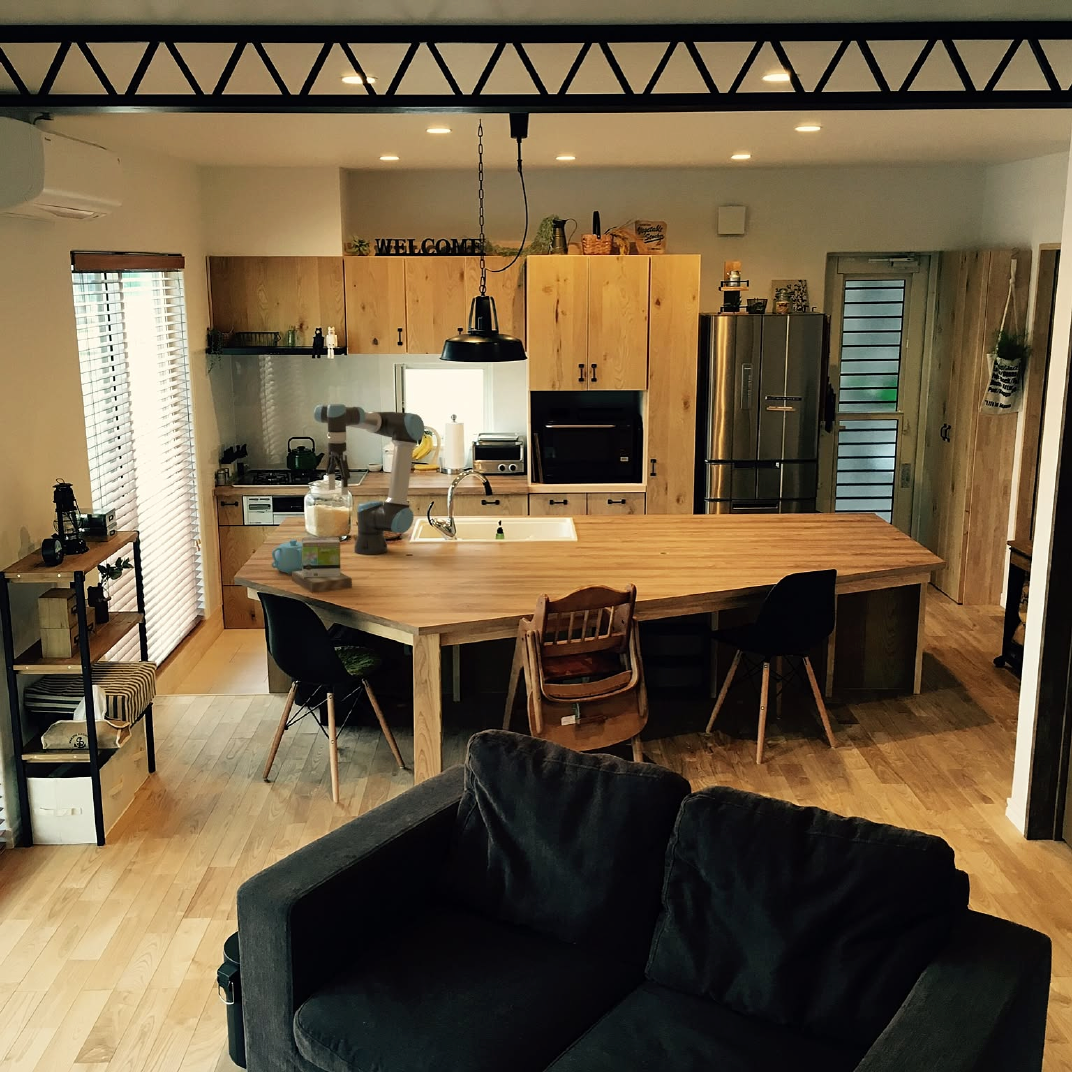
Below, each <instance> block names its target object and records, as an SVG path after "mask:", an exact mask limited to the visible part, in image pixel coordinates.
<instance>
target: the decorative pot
mask: <svg viewBox="0 0 1072 1072" xmlns="http://www.w3.org/2000/svg"><path fill="white" fill-rule="evenodd" d="M271 557H272V560H273V561H272V562H271V564H270V566H271V567H272V568H274V569H277V571H279V572H282V573H286V575H292V572H294V571H302V570H303V569H302V541H297V539H289V540H288V542H284V543H280V544H279V545H278V547H275V548H274V549H272V551H271Z"/></svg>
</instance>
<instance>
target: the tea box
mask: <svg viewBox="0 0 1072 1072" xmlns="http://www.w3.org/2000/svg"><path fill="white" fill-rule="evenodd" d="M301 539H302V540H301V543H302V569H303V577H304V578H305V577H340V572H341V540H340V538H339V537H338V536H337V537H335V536H334V537H331V536H330V537H301Z"/></svg>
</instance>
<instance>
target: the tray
mask: <svg viewBox="0 0 1072 1072" xmlns="http://www.w3.org/2000/svg"><path fill="white" fill-rule="evenodd" d="M291 581H292V582H293V583H295V584H297V585H299V586H300V587H302V588H303V587H304V588H303V589H305V590H306V589H307V590H306V591H308V590H309V591H308V592H310V593H311V592H312V594H315V592H316V593H321V592H329V591H335V590H336V591H338V590H343V589H351V588H353V582H352V581H353V578H352V577H350V576H348V575H346V574H345V573H342V572H341V571H340V577H305V578H304V577H303V570H302V571H294V572H292V574H291ZM313 592H314V593H313Z"/></svg>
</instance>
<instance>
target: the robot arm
mask: <svg viewBox="0 0 1072 1072" xmlns="http://www.w3.org/2000/svg"><path fill="white" fill-rule="evenodd" d="M313 418H314V420H315V421H316V422H318V423H322V424H327V435H326V436H327V441H328V443H327V450H328V453H327V455H328V456H327V461H326V466H325V473H327V475H328V476H327V477H328V478H327V479H328V480H327V482H328V491H333V490H334V491H335V490H336V471H335V470H336V468H337V467H338V470H339V473H340V477H341V478H340V486H341V487H340V488H341V489H340V491H341V493H340V494H341V496H348V495H349V479H351V474H350V470H349V469H350V468H349V465H348V457H347V454H346V455H345V454H344V452H346V451H347V427H351V428H356V429H360V430H361V429H362V430H366V431H367V432H369V433H371V434H376V435H380V436H383V437H386V438H391V442H392V444H393V445H394V447H393V455H392V463H391V471H390V476H389V477H390V480H389V486H388V494H387V499H385V500H369V501H364V502H360V503H359V504H358V505H357V510H356V511H357V512H356V515H357V517H356V518H357V537H356V540H355V544H354V546H353V549H354V553H356V554H359V555H380V554H381V555H382V554H384V553H385V554H386V552H388V544H387V540H386V539H385V536H384V532H389V533H394V534H404V533H406V532H407V531H409V530H410V528H411V527H412V525H413V522H414V518H415V517H414V513H413V512H414V511H413V510H412V509H411V508H410V506H411V505H410V502H409V501H408V495H409V486H410V478H411V469H412V461H413V455H414V454H413V453H414V448H415V447H416V446H417V445H418V443H419V441H420V440H421V439H423V437H424V435H425V424H424V421H423V419H422V417H421V416H420V415H418V414H416V413H411V412H397V411H373V410H372V411H369V412H366V411H365V410H364V409H363V408H362V407H361V406H351V407H350V406H346V405H345V404H343V403H341V404H340V403H335V404H334V403H333V404H332V403H331V404H329V405H328V404H327V405H326V404H318V405H317V406H316V407H315V408H314V410H313Z"/></svg>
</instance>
